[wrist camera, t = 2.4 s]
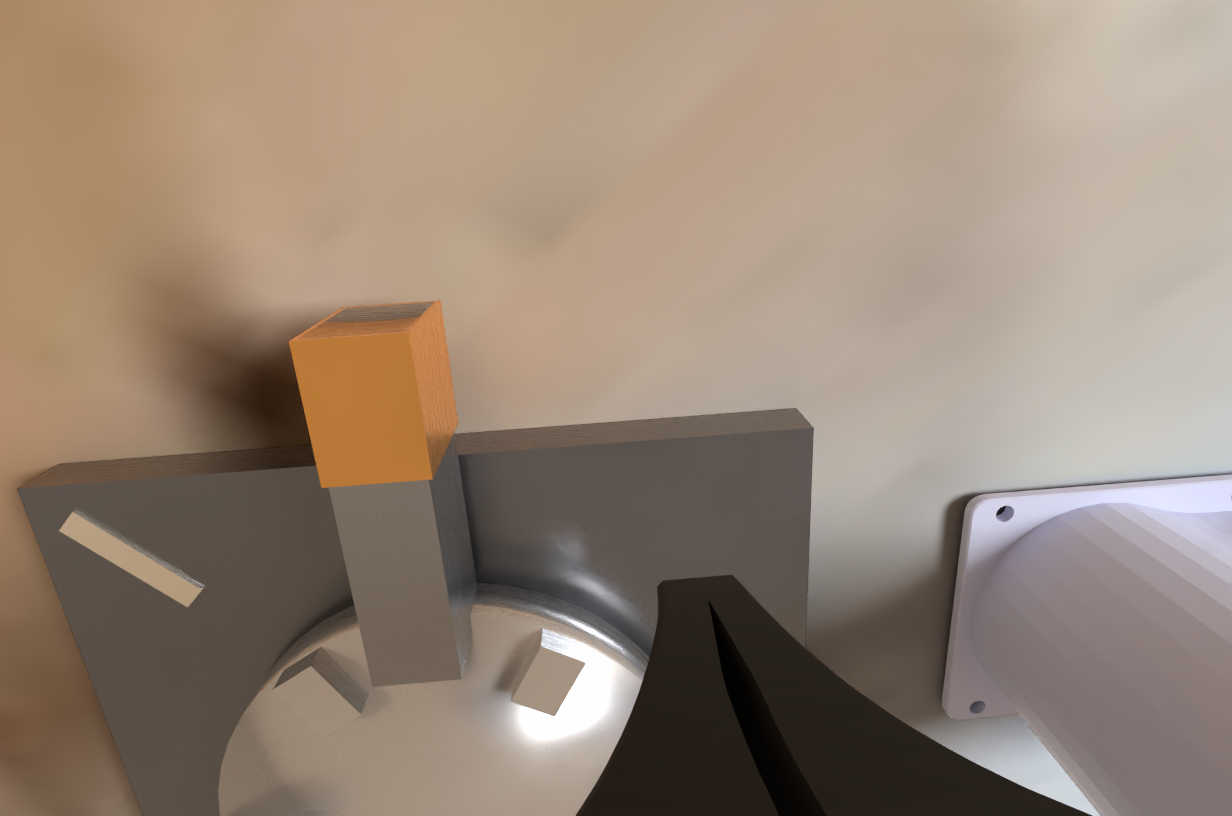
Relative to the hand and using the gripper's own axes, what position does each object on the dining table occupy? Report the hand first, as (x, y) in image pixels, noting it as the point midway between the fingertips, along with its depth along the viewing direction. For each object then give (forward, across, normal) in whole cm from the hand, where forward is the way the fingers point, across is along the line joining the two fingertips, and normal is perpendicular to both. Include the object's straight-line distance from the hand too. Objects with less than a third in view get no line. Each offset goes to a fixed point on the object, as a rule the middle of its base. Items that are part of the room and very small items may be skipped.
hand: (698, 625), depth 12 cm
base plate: (+8, +6, +9) cm, 13 cm away
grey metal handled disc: (+6, +6, +5) cm, 10 cm away
